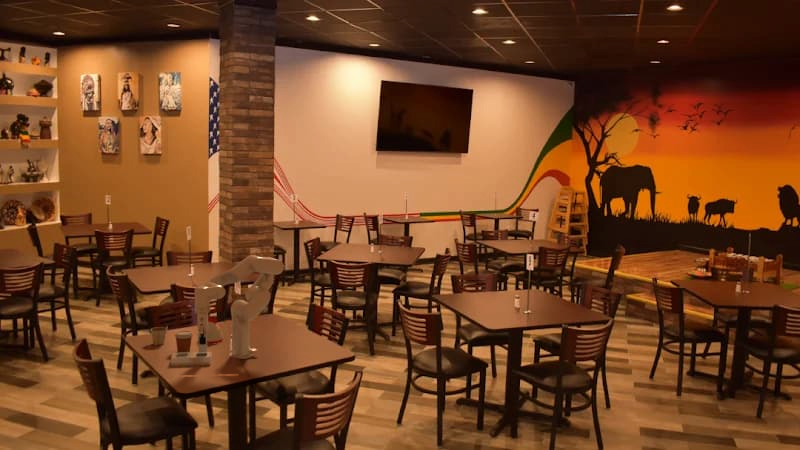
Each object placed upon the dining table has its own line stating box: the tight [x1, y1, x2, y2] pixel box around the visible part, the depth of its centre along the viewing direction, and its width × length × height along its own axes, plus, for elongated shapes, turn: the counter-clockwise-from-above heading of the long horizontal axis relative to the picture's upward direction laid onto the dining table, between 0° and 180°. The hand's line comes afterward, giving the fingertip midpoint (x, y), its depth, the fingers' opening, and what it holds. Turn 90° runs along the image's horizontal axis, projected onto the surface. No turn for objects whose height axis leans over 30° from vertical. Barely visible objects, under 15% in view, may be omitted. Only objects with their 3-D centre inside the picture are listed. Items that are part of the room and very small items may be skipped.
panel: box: [170, 351, 213, 367], centre depth 362 cm, size 20×10×5 cm, turn 102°
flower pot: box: [149, 326, 168, 346], centre depth 396 cm, size 9×9×9 cm
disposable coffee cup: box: [174, 330, 193, 352], centre depth 379 cm, size 10×10×12 cm
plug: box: [197, 332, 208, 353], centre depth 362 cm, size 5×4×10 cm
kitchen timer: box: [207, 315, 224, 345], centre depth 405 cm, size 14×14×15 cm
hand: (202, 342), depth 362 cm, fingers closed on plug, 4 cm apart
